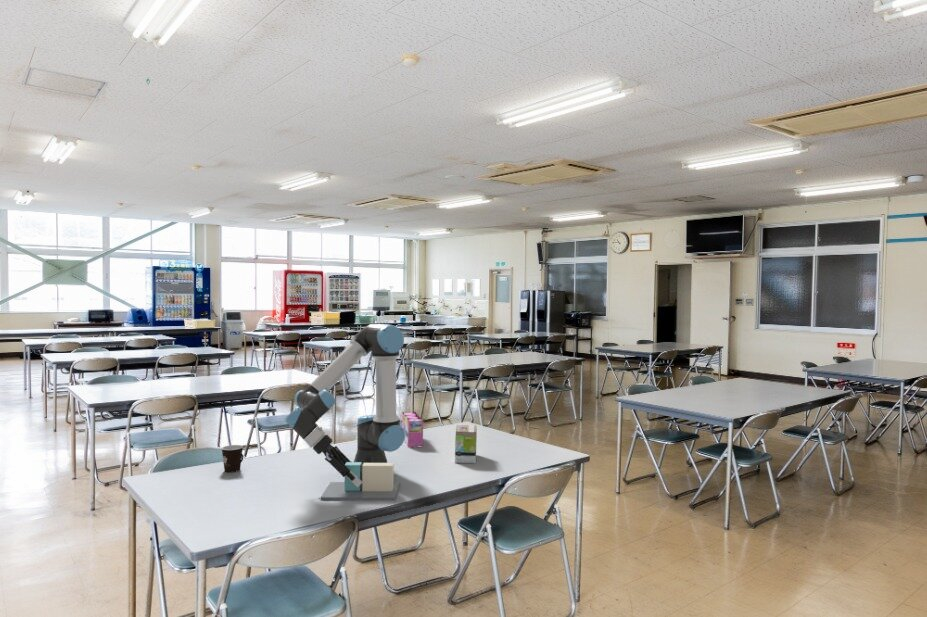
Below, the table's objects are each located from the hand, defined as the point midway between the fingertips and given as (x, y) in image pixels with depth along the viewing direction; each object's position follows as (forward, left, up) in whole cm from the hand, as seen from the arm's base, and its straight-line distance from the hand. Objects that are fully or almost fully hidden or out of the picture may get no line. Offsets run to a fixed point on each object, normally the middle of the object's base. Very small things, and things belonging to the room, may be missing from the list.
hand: (361, 482), depth 232 cm
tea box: (-4, +63, -4) cm, 63 cm away
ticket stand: (0, 0, -4) cm, 4 cm away
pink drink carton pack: (-46, +66, -4) cm, 80 cm away
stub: (-2, -2, -3) cm, 4 cm away
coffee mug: (-61, -24, -4) cm, 65 cm away
